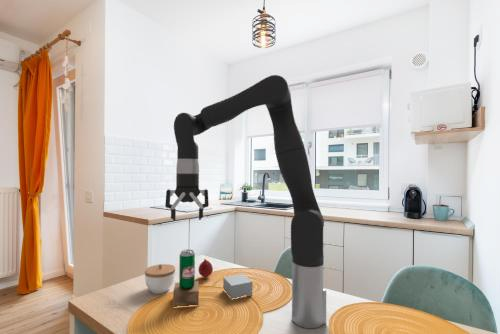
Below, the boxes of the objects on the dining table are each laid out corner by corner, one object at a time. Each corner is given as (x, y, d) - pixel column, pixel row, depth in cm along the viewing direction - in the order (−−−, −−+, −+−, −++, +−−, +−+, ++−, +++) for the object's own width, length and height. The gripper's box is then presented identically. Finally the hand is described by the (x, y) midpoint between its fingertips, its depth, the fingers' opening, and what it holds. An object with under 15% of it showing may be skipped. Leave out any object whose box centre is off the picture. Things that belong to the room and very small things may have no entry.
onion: (214, 275, 112) (214, 256, 112) (210, 281, 106) (210, 261, 106) (200, 275, 112) (200, 256, 113) (196, 280, 107) (196, 260, 107)
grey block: (242, 286, 101) (242, 273, 101) (252, 295, 94) (252, 281, 94) (223, 290, 98) (223, 277, 98) (231, 300, 90) (231, 285, 91)
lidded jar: (149, 299, 91) (149, 272, 91) (141, 288, 99) (141, 263, 99) (179, 291, 97) (179, 265, 97) (169, 281, 106) (169, 258, 106)
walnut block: (198, 295, 94) (198, 281, 94) (198, 306, 86) (198, 291, 86) (175, 297, 92) (175, 282, 93) (173, 308, 85) (173, 293, 85)
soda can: (182, 291, 86) (182, 254, 86) (177, 285, 90) (177, 250, 90) (196, 287, 89) (197, 251, 89) (191, 282, 93) (191, 248, 93)
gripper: (164, 172, 85) (164, 222, 85) (209, 172, 88) (208, 221, 88) (167, 172, 93) (166, 218, 92) (208, 172, 95) (207, 217, 95)
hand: (187, 219), depth 90 cm, fingers open, 8 cm apart
